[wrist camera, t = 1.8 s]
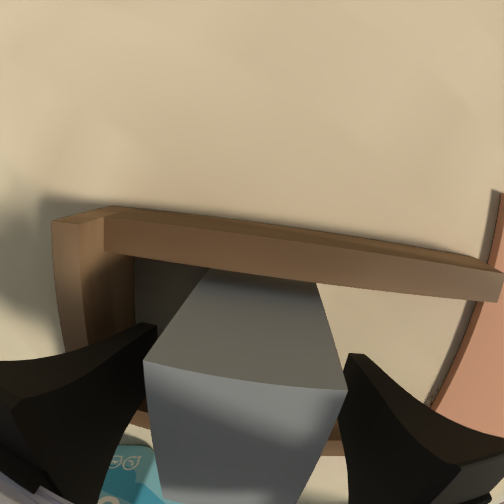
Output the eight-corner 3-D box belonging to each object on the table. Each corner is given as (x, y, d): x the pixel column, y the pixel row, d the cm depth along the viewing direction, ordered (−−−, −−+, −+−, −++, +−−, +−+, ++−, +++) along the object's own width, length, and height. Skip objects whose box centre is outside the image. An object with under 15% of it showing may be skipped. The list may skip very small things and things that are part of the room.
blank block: (288, 391, 14) (287, 517, 7) (205, 379, 14) (163, 498, 7) (313, 275, 12) (348, 390, 5) (213, 261, 12) (143, 360, 5)
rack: (410, 419, 13) (431, 470, 10) (121, 385, 14) (88, 432, 10) (474, 257, 11) (528, 287, 7) (111, 206, 12) (51, 220, 8)
